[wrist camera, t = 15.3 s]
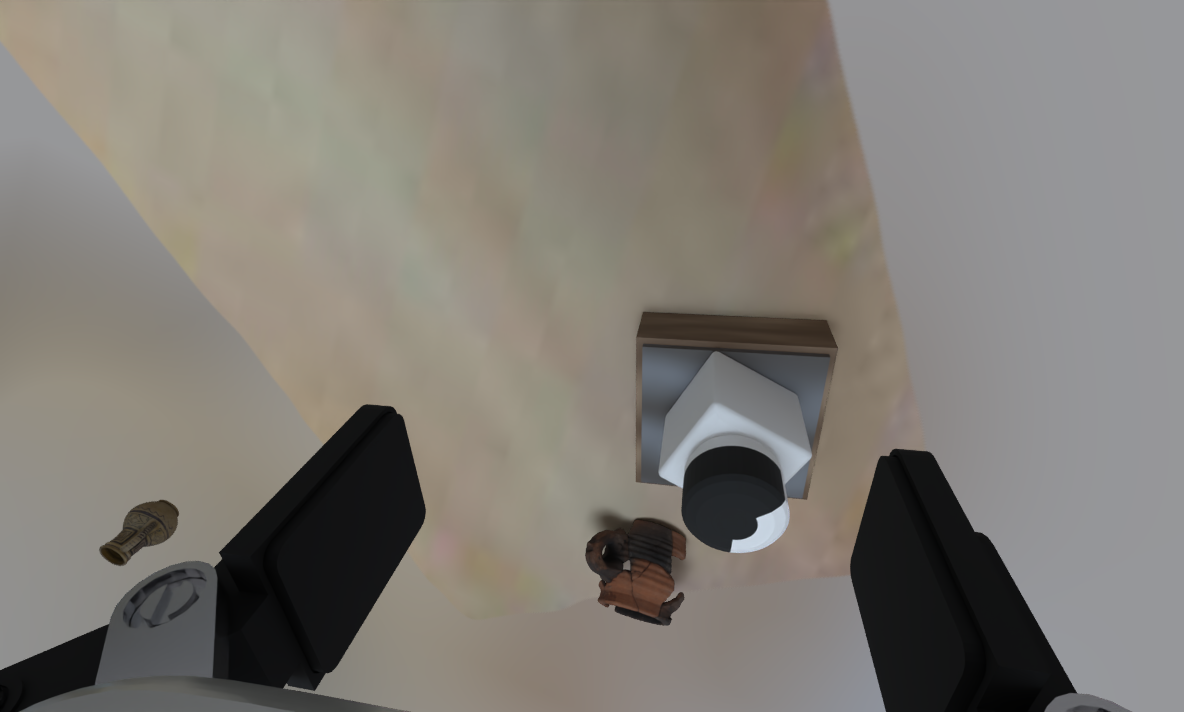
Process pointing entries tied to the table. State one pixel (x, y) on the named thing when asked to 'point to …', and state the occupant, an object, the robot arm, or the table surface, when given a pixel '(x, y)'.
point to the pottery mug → (637, 570)
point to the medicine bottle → (734, 455)
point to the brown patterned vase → (141, 531)
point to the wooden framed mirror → (761, 344)
